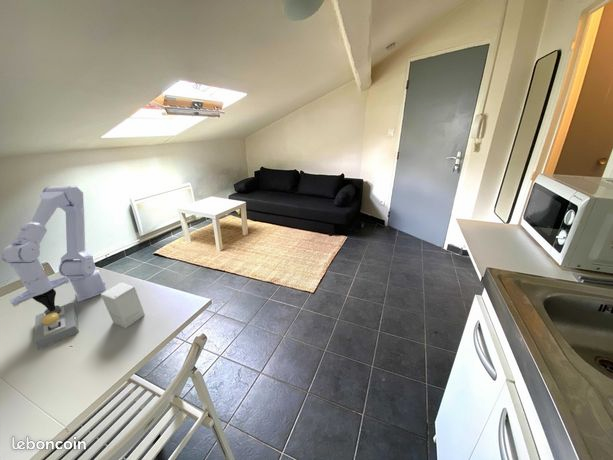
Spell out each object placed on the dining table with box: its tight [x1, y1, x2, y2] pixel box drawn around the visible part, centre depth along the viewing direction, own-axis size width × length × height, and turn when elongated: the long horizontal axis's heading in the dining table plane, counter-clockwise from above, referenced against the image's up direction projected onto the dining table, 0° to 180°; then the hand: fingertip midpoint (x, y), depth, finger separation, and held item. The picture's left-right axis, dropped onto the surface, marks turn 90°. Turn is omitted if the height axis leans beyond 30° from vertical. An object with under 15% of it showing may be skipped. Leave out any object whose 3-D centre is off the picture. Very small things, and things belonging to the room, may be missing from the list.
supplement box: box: [100, 281, 146, 329], centre depth 91 cm, size 7×7×13 cm
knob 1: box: [43, 305, 61, 315], centre depth 92 cm, size 4×4×5 cm
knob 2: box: [41, 313, 60, 330], centre depth 85 cm, size 4×4×5 cm
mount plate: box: [33, 301, 79, 350], centre depth 89 cm, size 10×16×4 cm, turn 42°
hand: (52, 309), depth 91 cm, fingers closed, pressing on knob 1
